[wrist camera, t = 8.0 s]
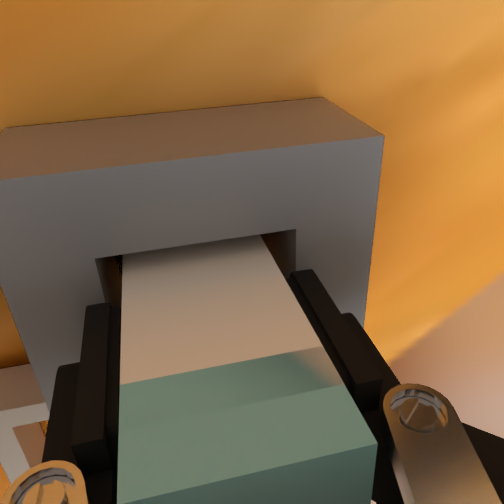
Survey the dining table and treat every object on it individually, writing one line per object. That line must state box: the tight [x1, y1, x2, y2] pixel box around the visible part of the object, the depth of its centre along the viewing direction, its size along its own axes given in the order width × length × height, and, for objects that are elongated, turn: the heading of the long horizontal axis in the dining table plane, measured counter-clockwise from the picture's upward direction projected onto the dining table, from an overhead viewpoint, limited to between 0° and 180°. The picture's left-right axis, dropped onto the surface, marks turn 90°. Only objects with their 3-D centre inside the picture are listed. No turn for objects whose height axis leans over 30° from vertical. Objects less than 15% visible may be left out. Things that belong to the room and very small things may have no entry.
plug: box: [117, 234, 378, 504], centre depth 12 cm, size 4×4×10 cm
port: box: [0, 97, 384, 413], centre depth 14 cm, size 9×9×4 cm
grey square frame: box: [0, 364, 50, 484], centre depth 18 cm, size 7×7×2 cm
